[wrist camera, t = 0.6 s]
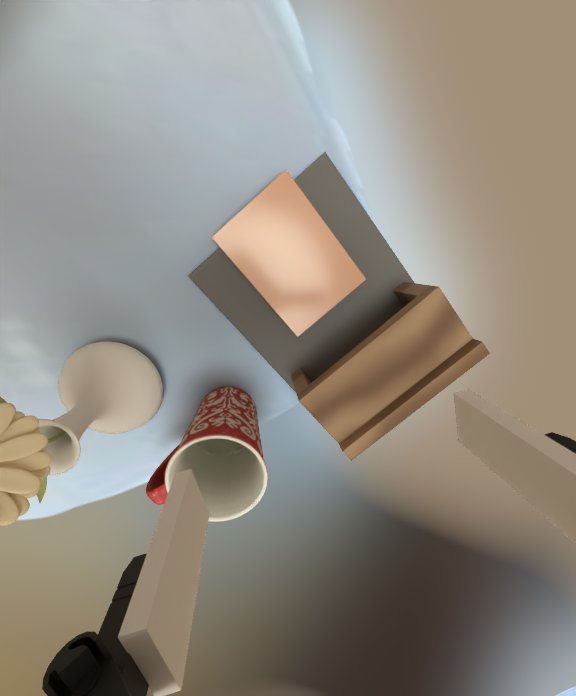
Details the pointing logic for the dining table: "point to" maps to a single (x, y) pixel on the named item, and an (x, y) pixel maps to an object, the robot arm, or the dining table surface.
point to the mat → (339, 322)
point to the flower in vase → (74, 419)
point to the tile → (289, 254)
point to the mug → (219, 456)
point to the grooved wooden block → (391, 370)
